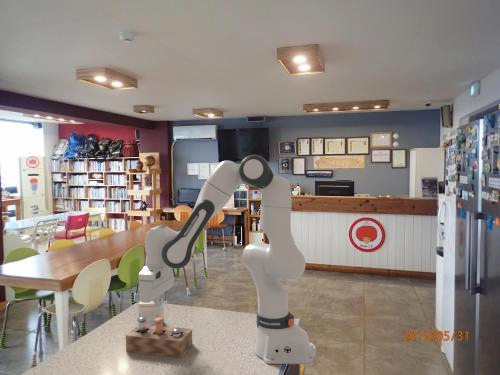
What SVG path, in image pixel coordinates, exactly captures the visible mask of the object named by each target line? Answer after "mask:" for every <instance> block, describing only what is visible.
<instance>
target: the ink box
mask: <svg viewBox="0 0 500 375" xmlns="http://www.w3.org/2000/svg"><path fill="white" fill-rule="evenodd" d="M137 305H138V306H137V308H138V311H137V312H138V317H140V316H147V320H146V325H155V323H154V319H155V318H159V317H162V318H164V319H165V311H164V310H165V309H164V299H163V300H162V305H160V306H159V307H154V301H153V300H152V301H151V302H149V303H147V302H141V301H139V303H137ZM164 323H165V321H164V322H163V325H164Z"/></svg>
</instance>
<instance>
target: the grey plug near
mask: <svg viewBox="0 0 500 375" xmlns="http://www.w3.org/2000/svg"><path fill="white" fill-rule="evenodd" d="M175 327H176V326H175ZM181 328H182V327H176V328H173V329H172V333H173V336H175V337H180V336H181V332H182V329H181Z"/></svg>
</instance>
